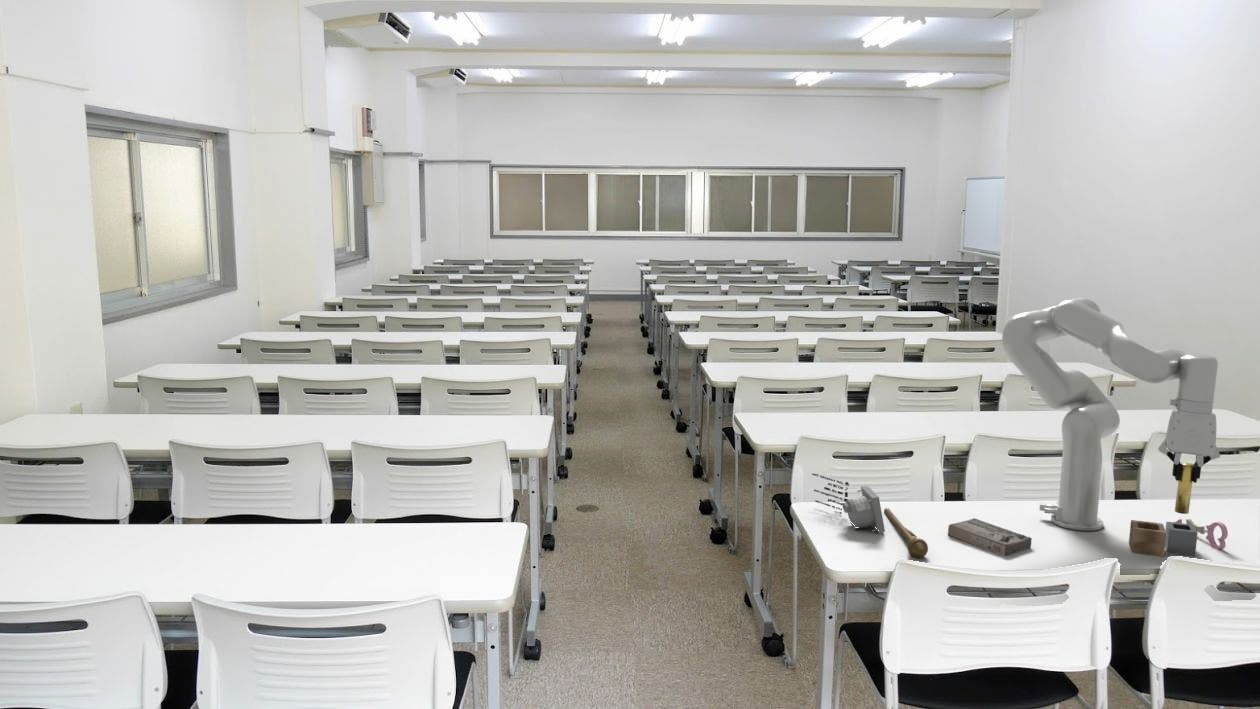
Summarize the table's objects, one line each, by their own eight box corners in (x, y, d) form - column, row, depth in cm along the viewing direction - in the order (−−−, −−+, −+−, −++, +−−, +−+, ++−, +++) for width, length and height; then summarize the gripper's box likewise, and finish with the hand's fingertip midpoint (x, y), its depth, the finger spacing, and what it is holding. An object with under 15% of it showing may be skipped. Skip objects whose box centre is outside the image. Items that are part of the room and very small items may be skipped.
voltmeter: (897, 529, 253) (899, 492, 251) (870, 539, 246) (872, 501, 244) (818, 503, 273) (819, 469, 272) (790, 512, 266) (791, 477, 265)
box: (972, 528, 255) (973, 517, 255) (1031, 549, 241) (1033, 537, 240) (946, 536, 249) (946, 524, 249) (1005, 557, 235) (1006, 545, 235)
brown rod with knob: (876, 518, 266) (894, 520, 266) (910, 560, 232) (929, 563, 232) (879, 501, 266) (896, 503, 266) (912, 541, 231) (932, 543, 231)
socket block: (1166, 552, 238) (1169, 529, 237) (1163, 544, 243) (1166, 521, 242) (1195, 556, 236) (1197, 532, 235) (1191, 547, 241) (1193, 524, 240)
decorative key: (1175, 535, 258) (1227, 551, 238) (1171, 535, 258) (1223, 551, 238) (1175, 510, 258) (1227, 524, 238) (1170, 510, 258) (1223, 524, 238)
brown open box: (1131, 552, 238) (1133, 528, 237) (1128, 542, 244) (1131, 519, 243) (1163, 556, 235) (1166, 532, 234) (1160, 546, 242) (1162, 523, 241)
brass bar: (1175, 512, 237) (1181, 465, 235) (1173, 509, 240) (1179, 461, 238) (1189, 514, 236) (1195, 466, 234) (1187, 510, 239) (1193, 463, 237)
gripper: (1157, 406, 233) (1149, 480, 236) (1236, 413, 227) (1227, 489, 230) (1154, 399, 240) (1145, 471, 243) (1230, 406, 234) (1221, 480, 237)
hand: (1185, 479), depth 237 cm, fingers closed on brass bar, 3 cm apart
